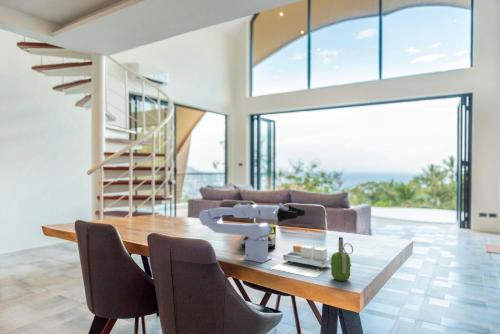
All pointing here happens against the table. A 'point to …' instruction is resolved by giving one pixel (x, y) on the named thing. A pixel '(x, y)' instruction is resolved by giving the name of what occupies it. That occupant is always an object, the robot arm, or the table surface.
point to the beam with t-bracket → (305, 260)
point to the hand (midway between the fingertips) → (300, 214)
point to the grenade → (341, 263)
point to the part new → (297, 248)
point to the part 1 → (307, 252)
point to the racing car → (270, 238)
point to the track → (297, 270)
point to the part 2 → (319, 254)
